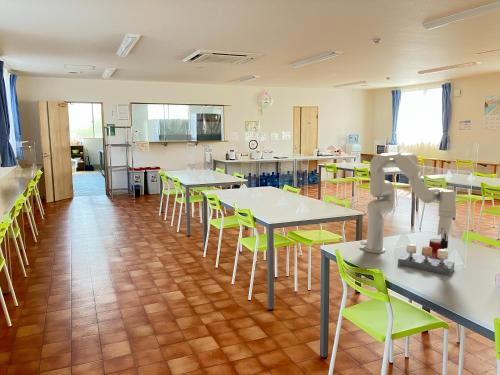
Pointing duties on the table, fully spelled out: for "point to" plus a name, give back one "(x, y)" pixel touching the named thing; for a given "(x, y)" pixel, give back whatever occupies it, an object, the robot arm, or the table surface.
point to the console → (426, 264)
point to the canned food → (435, 247)
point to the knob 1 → (411, 249)
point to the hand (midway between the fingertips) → (443, 247)
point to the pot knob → (426, 252)
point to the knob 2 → (442, 255)
